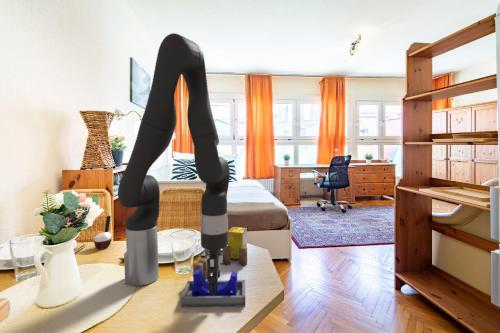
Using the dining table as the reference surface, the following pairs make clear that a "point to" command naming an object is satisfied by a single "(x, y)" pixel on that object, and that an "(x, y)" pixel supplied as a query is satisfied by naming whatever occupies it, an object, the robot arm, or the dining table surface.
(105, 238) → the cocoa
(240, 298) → the tray
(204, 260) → the spacer
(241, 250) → the spacer
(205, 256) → the block
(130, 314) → the dining table surface
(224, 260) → the spacer
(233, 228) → the supplement box
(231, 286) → the cable clip
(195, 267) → the spacer
